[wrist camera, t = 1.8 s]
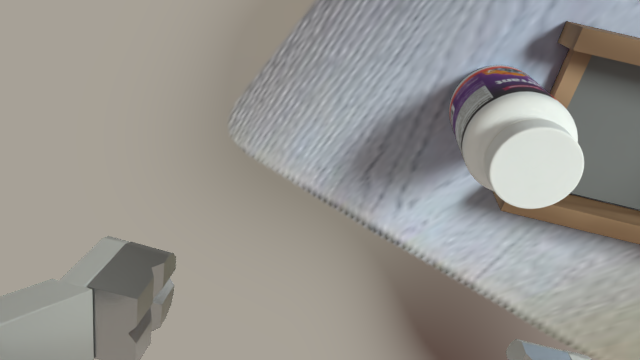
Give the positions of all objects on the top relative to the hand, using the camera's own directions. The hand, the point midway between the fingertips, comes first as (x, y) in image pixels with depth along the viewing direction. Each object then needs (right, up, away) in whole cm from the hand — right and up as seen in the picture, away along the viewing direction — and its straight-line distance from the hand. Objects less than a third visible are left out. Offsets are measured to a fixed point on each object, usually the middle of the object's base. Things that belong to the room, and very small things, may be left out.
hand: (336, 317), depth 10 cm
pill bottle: (+10, +8, +19) cm, 23 cm away
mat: (+19, +6, +19) cm, 27 cm away
